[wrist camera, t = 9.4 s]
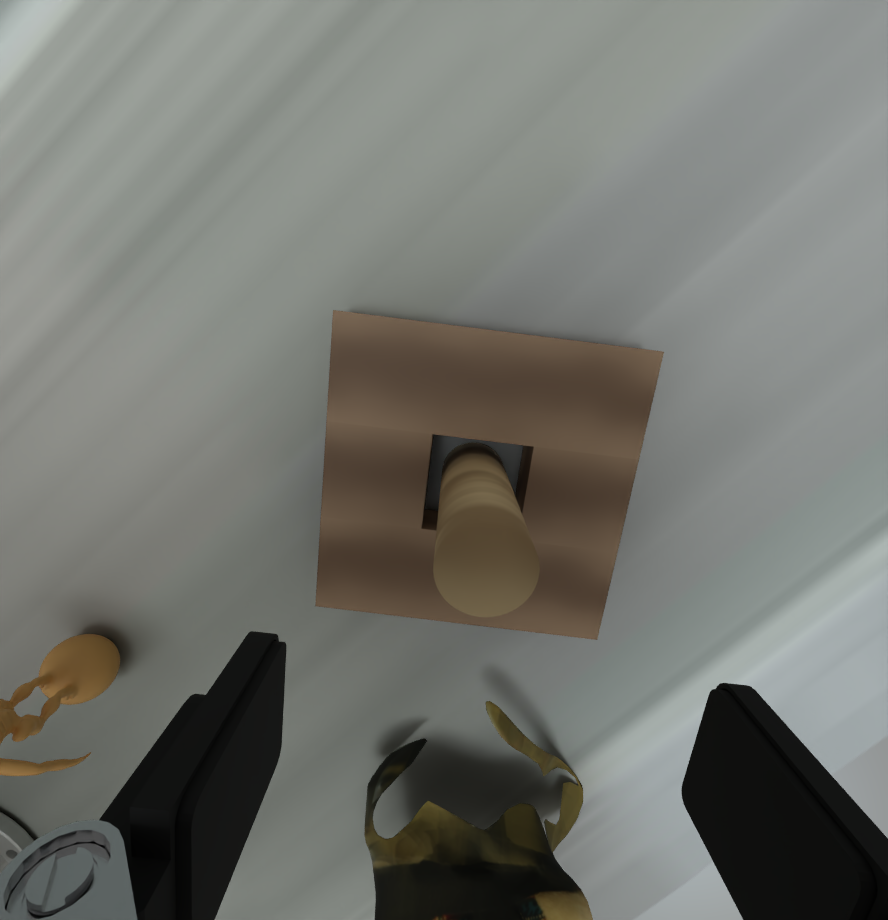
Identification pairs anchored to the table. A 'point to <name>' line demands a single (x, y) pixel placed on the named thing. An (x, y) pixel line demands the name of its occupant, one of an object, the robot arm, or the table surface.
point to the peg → (481, 536)
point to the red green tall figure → (474, 852)
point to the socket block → (482, 418)
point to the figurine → (59, 693)
